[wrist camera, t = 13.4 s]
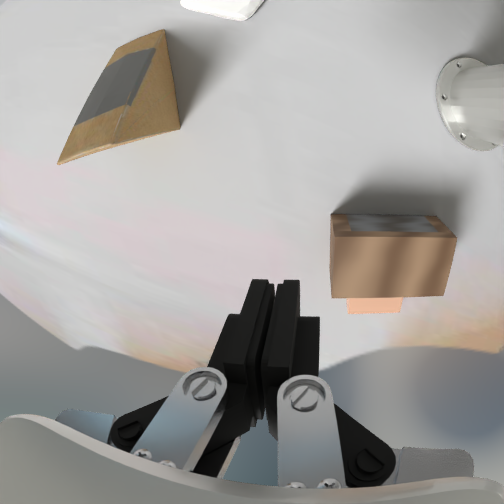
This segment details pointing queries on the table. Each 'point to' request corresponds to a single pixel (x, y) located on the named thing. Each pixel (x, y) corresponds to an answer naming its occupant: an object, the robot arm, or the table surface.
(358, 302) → the peach flat block
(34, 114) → the table surface
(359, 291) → the wooden bridge block
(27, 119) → the table surface
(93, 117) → the sandwich container
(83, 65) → the table surface
